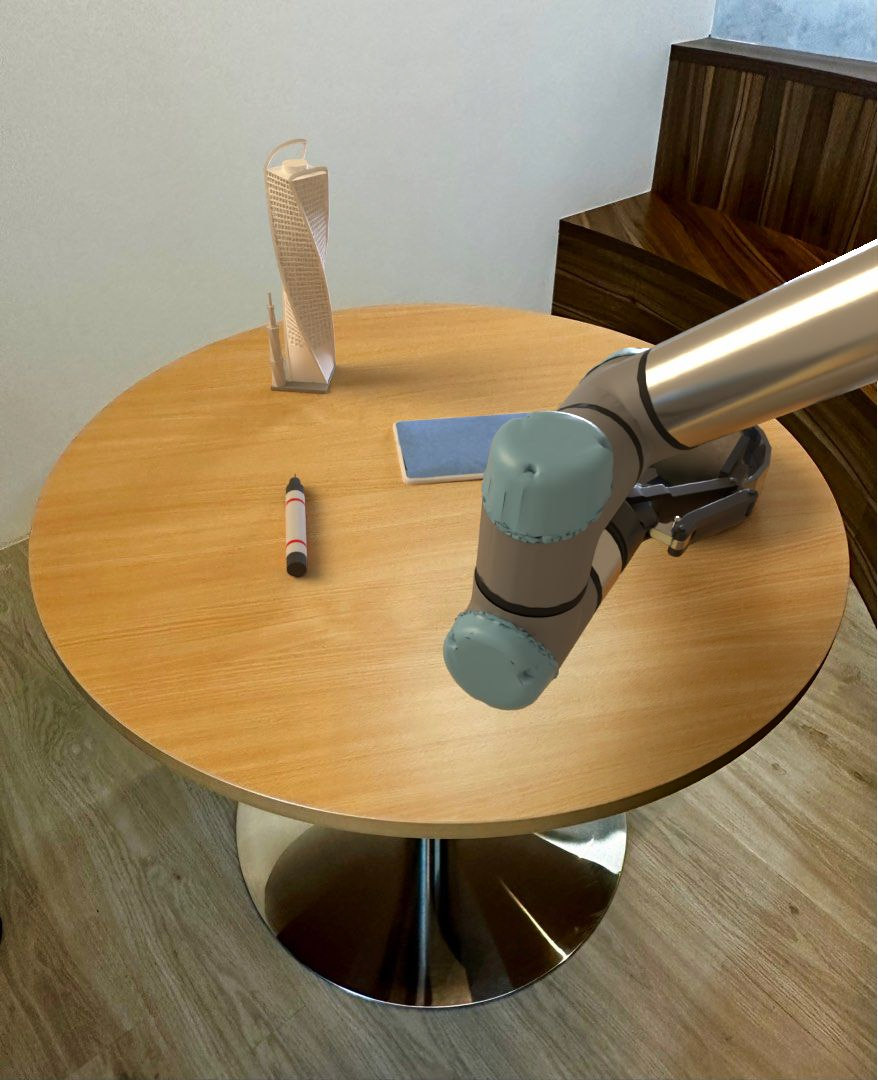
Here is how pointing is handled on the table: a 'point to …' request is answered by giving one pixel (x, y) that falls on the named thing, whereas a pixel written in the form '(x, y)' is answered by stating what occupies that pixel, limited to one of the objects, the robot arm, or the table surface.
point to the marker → (295, 529)
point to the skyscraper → (300, 274)
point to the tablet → (446, 447)
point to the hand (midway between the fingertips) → (670, 423)
